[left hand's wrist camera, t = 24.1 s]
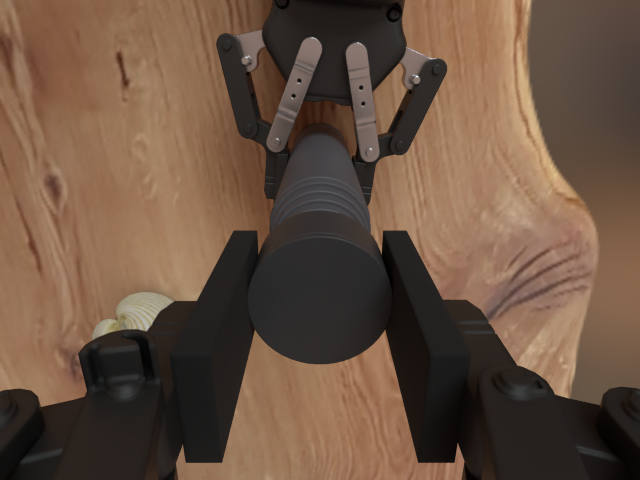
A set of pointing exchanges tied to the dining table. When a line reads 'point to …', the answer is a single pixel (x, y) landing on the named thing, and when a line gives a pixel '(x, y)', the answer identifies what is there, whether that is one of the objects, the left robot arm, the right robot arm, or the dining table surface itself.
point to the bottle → (320, 178)
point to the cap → (320, 289)
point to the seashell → (134, 313)
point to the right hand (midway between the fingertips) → (316, 207)
